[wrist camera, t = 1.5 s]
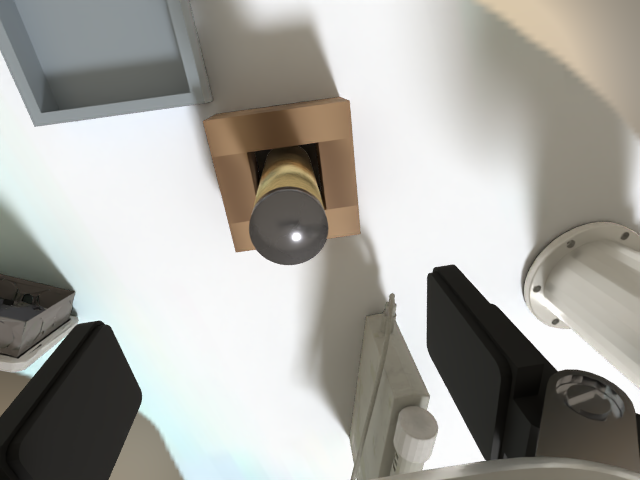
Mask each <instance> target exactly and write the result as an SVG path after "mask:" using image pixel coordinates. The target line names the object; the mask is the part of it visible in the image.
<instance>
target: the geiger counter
mask: <svg viewBox="0 0 640 480" xmlns="http://www.w3.org/2000/svg"><path fill="white" fill-rule="evenodd" d="M394 297H395V295H394V294H393V293H392V294H390V296H389V302H387V303H386V306H385V311H384V312H383V314H374V315H369V316H366V321H365V328H364V335H363V342H362V350H361V357H360V364H359V371H358V379H357V386H356V393H355V401H354V408H353V415H352V422H351V430H350V437H349V439H350V445H351V450H352V456H353V461H354V468H353V472H352V476H351V480H355V479H356V478H357V480H371V479H376V478H382V477H388V476H394V475H399V474H405V473H411V472H417V471H422V469H423V465H424V462H425V461H427V460H428V459H429V458H430V456H431V454H432V450H433V447H434V443H435V440H436V436H437V433H438V425H437V421H436V420H435V418H434V417H433V415H432V414H431V413H430V412H428V411H427V407H428V403H429V399H430V395H429V393H428V391H427V389H426V386H425V384H424V382H423V380H422V378H421V375H420V373H419V371H418V369H417V367H416V365H415V362H414V360H413V358H412V356H411V354H410V351H409V349H408V347H407V345H406V343H405V340H404V338H403V336H402V334H401V332H400V329H399V327H398V325H397V323H396V321H395V319H396V313H395V311H396V304H395V300H394Z"/></svg>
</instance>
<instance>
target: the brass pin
mask: <svg viewBox="0 0 640 480" xmlns="http://www.w3.org/2000/svg"><path fill="white" fill-rule="evenodd" d="M249 234H250V239H251V241H252V244H253V246H254V247H255V249H256V250H257V251H258V252H259V253H260V254H261V255H262V256H263V257H265V258H266V259H268V260H270V261H272V262H274V263H277V264H282V265H296V264H300V263H303V262H306V261H308V260H310V259H311V258H313V257H314V256H315V255H317V254H318V253H319V252H320V250H321V249H322V248H323V246H324V244H325V242H326V240H327V236H328V221H327V217H326V214H325V210H324V206H323V203H322V199H321V196H320V192H319V189H318V185H317V182H316V178H315V175H314V171H313V167H312V164H311V160H310V157H309V155H308V154H307V152H306V151H305V150H304V149H303V148H301V147H300V146H298V145H296V146H289V147H282V148H275V149H272V150H271V151H270V152H269V153H268V155H267V157H266V160H265V164H264V168H263V172H262V176H261V179H260V183H259V187H258V191H257V195H256V199H255V203H254V207H253V210H252V214H251V218H250V222H249Z"/></svg>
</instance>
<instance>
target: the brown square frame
mask: <svg viewBox="0 0 640 480" xmlns="http://www.w3.org/2000/svg"><path fill="white" fill-rule="evenodd" d="M203 124H204V128H205V132H206V136H207V140H208V144H209V148H210V152H211V156H212V160H213V164H214V168H215V172H216V176H217V180H218V184H219V188H220V192H221V195H222V199H223V203H224V207H225V211H226V215H227V219H228V223H229V227H230V231H231V235H232V239H233V243H234V247H235V251H236V252H242V251H249V250H256V249H255V247H254V246H253V244H252V241H251V239H250V234H249V222H250V218H251V214H252V210H253V207H254V203H255V199H256V195H257V191H258V187H259V183H260V174H259V169H258V164H257V159H256V154H255V151H261V150H268V149H275V148H282V147H289V146H296V145H303V144H310V143H315V147H316V155H317V163H318V171H319V179H320V187H321V191H319V192H320V196H321V199H322V203H323V206H324V210H325V214H326V217H327V221H328V236H327V239H330V238H337V237H343V236H350V235H357V234H361V233H360V221H359V209H358V197H357V184H356V172H355V160H354V148H353V136H352V124H351V111H350V101H349V100H347V99H344V98H341V97H335V98H328V99H321V100H314V101H306V102H299V103H292V104H285V105H278V106H270V107H263V108H256V109H249V110H242V111H234V112H227V113H220V114H215V115H213V116H211V117H209V118H208V119H206V120H204V121H203Z"/></svg>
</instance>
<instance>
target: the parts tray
mask: <svg viewBox="0 0 640 480" xmlns="http://www.w3.org/2000/svg"><path fill="white" fill-rule="evenodd" d="M0 50H1V53H2V55H3V57H4V59H5V62H6V64H7V66H8V68H9V71H10V73H11V75H12V77H13V79H14V82H15V84H16V86H17V88H18V91H19V93H20V95H21V97H22V99H23V102H24V104H25V106H26V108H27V111H28V113H29V115H30V117H31V119H32V122H33V124H34V126H35V127H36V126H44V125H51V124H58V123H66V122H73V121H80V120H87V119H95V118H102V117H109V116H116V115H124V114H131V113H138V112H145V111H153V110H160V109H167V108H174V107H182V106H189V105H196V104H203V103H207V102H211V101H213V98H212V94H211V90H210V86H209V82H208V77H207V73H206V69H205V65H204V60H203V56H202V52H201V48H200V43H199V39H198V35H197V31H196V26H195V22H194V18H193V14H192V9H191V5H190V1H189V0H0Z"/></svg>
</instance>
